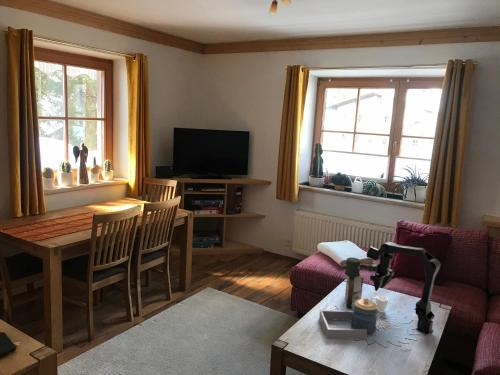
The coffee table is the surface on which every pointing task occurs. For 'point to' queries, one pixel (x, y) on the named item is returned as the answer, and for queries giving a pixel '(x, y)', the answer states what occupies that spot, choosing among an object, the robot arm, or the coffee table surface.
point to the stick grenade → (352, 277)
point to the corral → (340, 333)
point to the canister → (364, 315)
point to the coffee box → (355, 288)
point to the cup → (381, 303)
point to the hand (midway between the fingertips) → (379, 288)
